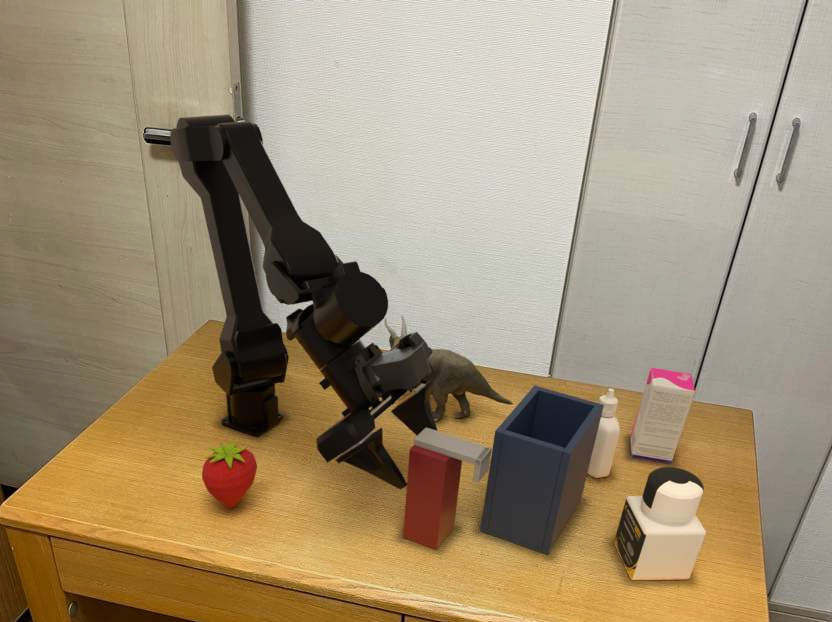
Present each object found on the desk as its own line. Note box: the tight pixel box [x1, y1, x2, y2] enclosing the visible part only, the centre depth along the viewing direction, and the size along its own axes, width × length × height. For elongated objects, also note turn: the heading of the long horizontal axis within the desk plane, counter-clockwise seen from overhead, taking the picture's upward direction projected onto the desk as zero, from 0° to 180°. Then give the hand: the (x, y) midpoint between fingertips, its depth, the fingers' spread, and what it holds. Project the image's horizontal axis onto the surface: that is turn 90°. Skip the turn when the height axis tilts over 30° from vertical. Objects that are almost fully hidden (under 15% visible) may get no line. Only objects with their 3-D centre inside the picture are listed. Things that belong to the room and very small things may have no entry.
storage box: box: [479, 384, 604, 556], centre depth 97 cm, size 9×13×14 cm
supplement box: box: [629, 367, 696, 464], centre depth 111 cm, size 6×6×12 cm
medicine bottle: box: [613, 466, 707, 581], centre depth 92 cm, size 7×7×12 cm
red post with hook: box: [402, 428, 493, 551], centre depth 92 cm, size 8×5×13 cm, turn 63°
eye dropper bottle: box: [587, 388, 621, 479], centre depth 107 cm, size 4×6×12 cm
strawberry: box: [201, 439, 258, 509], centre depth 96 cm, size 6×8×10 cm
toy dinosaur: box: [384, 315, 514, 422], centre depth 117 cm, size 22×8×11 cm, turn 58°
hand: (422, 468), depth 92 cm, fingers open, 9 cm apart
